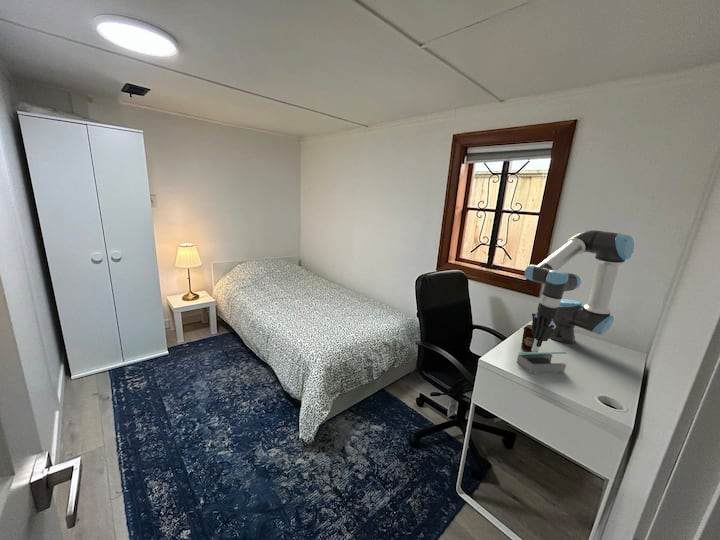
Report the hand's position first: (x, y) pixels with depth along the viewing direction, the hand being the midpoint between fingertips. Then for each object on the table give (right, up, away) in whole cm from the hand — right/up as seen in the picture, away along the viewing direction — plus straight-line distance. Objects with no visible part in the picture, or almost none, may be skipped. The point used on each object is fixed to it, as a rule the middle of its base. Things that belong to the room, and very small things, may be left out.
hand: (534, 351), depth 138 cm
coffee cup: (+8, -5, +19) cm, 21 cm away
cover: (+5, -2, +2) cm, 6 cm away
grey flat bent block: (+4, -8, +3) cm, 10 cm away
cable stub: (+5, -8, +3) cm, 10 cm away
